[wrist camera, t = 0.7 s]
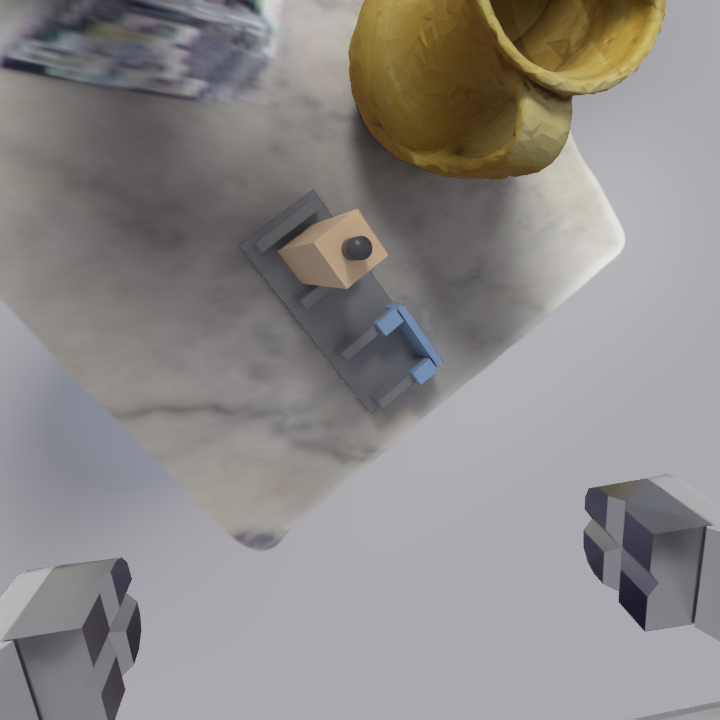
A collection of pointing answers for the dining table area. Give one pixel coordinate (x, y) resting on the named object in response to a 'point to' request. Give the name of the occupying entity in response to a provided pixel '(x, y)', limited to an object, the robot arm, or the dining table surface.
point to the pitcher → (489, 76)
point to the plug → (334, 251)
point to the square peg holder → (346, 315)
